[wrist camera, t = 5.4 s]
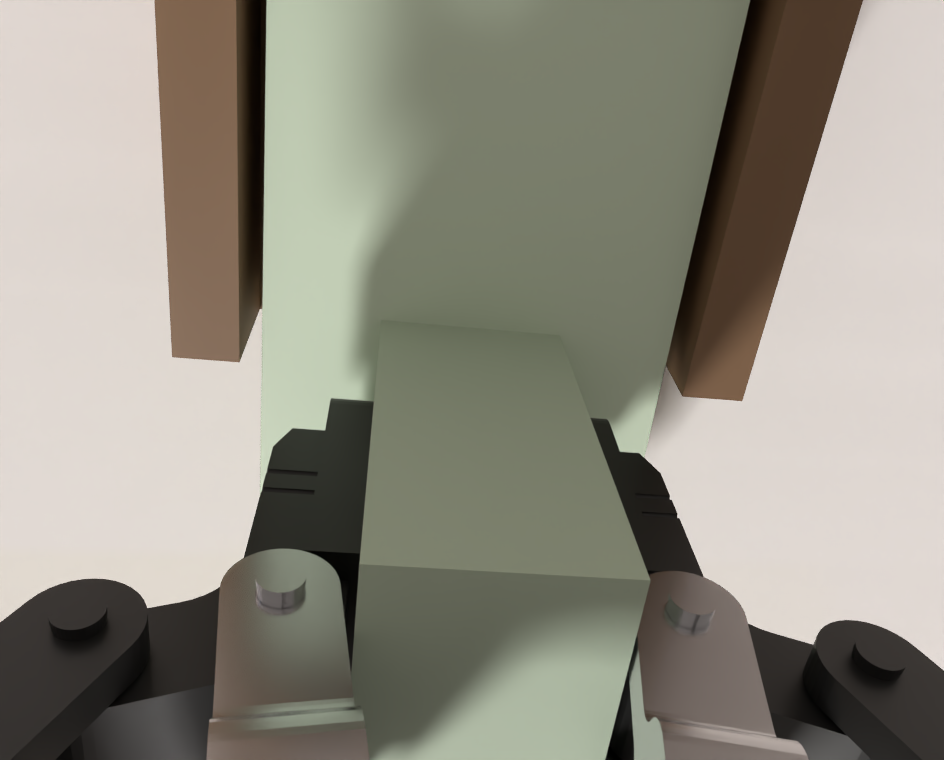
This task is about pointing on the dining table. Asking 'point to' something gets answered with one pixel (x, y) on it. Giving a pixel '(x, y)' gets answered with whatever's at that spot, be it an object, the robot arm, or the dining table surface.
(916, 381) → the dining table surface
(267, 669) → the robot arm
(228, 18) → the box
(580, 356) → the lid
